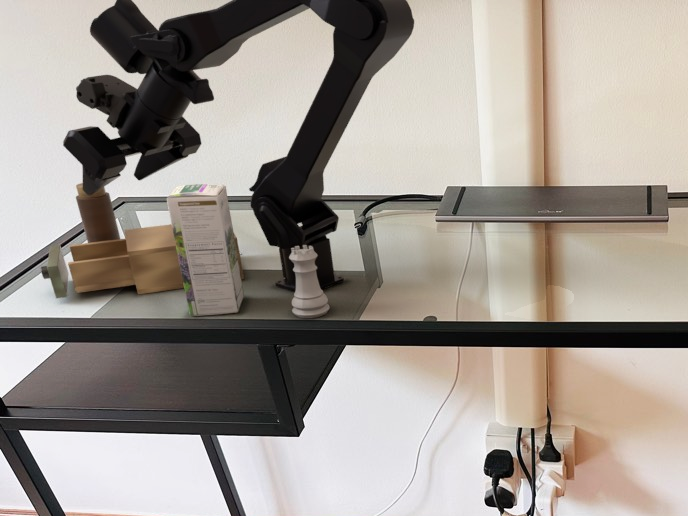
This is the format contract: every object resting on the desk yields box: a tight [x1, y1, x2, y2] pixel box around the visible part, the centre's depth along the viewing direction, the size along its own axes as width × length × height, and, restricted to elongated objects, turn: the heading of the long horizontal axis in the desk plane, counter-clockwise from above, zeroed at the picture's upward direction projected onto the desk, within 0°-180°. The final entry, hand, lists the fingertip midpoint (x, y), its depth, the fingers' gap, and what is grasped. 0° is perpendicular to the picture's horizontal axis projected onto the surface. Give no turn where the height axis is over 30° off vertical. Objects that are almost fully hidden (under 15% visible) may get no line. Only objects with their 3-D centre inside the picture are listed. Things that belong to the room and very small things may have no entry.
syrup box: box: [166, 183, 245, 317], centre depth 99 cm, size 6×6×14 cm
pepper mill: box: [75, 182, 121, 243], centre depth 116 cm, size 4×4×11 cm
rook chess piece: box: [289, 245, 331, 319], centre depth 98 cm, size 4×4×8 cm
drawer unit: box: [124, 224, 245, 295], centre depth 112 cm, size 13×11×6 cm
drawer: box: [40, 238, 136, 299], centre depth 108 cm, size 14×10×4 cm
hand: (112, 185), depth 112 cm, fingers open, 9 cm apart
